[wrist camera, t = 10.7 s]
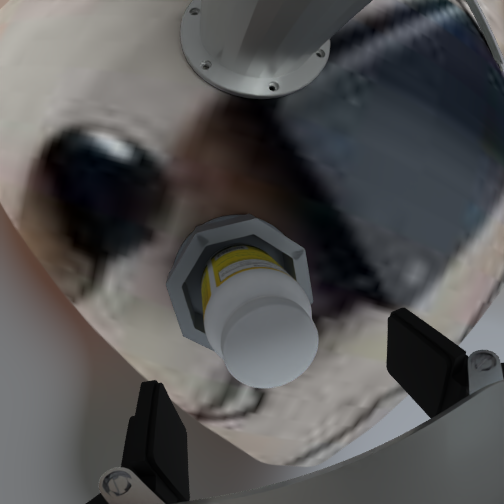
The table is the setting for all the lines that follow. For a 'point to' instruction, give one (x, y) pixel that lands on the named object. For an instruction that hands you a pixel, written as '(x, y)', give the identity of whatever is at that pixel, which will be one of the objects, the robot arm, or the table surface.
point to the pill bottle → (257, 317)
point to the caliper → (487, 32)
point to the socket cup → (209, 242)
